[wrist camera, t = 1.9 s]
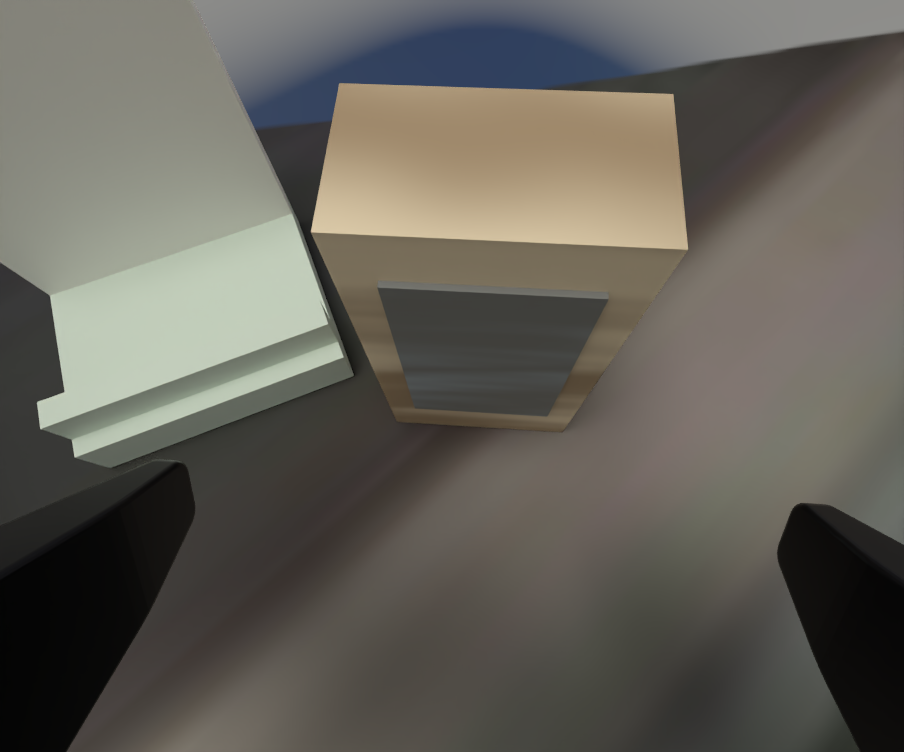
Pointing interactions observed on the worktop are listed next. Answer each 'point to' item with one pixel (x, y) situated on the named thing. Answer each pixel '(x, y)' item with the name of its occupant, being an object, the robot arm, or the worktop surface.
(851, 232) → the worktop surface
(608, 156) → the oak photo frame
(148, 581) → the robot arm
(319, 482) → the worktop surface
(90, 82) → the picture ledge
